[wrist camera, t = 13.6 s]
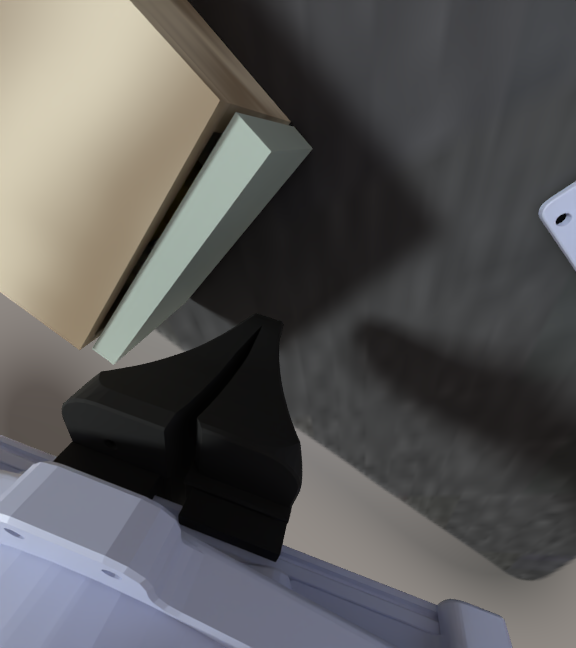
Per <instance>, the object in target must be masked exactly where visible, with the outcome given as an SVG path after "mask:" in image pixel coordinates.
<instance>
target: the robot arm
mask: <svg viewBox="0 0 576 648" xmlns="http://www.w3.org/2000/svg"><path fill="white" fill-rule="evenodd" d="M564 213H566V218H565V220H564V221H562V222H561V223H559V224H556V222H555V221H556V219H557V218H558V217H559V216H560V215H562V214H564ZM538 214H539V217H540V219H541V221H542V222H543V224H544V225H545V227H546V228H547V230H548V231H549V233H550V234H551V235H552V237H553V238H554V240H555V241H556V243H557V244H558V246H559V247H560V249H561V250H562V252H563V253H564V255H565V256H566V258H567V259H568V261H569V262H570V264H571V265H572V267H573V268H574V270H575V271H576V181H575V182H574V183H572V184H571V185H569V186H568V187H566V188H565V189H563V190H562V191H560V192H559V193H557V194H556V195H554V196H553V197H551V198H550V199H548V200H547V201H546V202H544V203H543V204H542V206H541V207H540V209H539V213H538ZM283 325H284V324H283V323H282V322H281V321H278V320H275V319H272V318H269V317H266V316H262V315H259V314H254V315H252V316H251V317H249V318H248V319H246V320H245V321H243V322H242V323H240V324H239V325H237V326H236V327H234V328H232V329H231V330H229V331H227V332H226V333H224V334H222V335H220V336H218V337H217V338H215V339H213V340H211V341H209V342H207V343H205V344H203V345H201V346H198V347H196V348H194V349H191V350H189V351H186V352H183V353H180V354H177V355H174V356H171V357H168V358H165V359H162V360H158V361H154V362H150V363H146V364H142V365H137V366H132V367H126V368H121V369H115V370H109V371H102V372H100V373H99V374H98V375H96V376H95V377H94V378H92V379H91V380H90V381H89V382H87V383H86V384H85V385H84V386H83V387H82V388H81V389H79V390H78V391H77V392H76V393H75V394H74V395H73V396H71V397H70V398H69V399H68V400H67V401H66V402H65V403H63V406H62V415H63V419H64V422H65V424H66V426H67V429H68V431H69V433H70V436H71V438H72V441H73V442H72V443H71V444H70V445H69V446H68V447H67V448H66V449H65V450H64V451H63V452H62V453H61V454H60V455H59V456H58V457H56V456H53V455H51V454H48V453H46V452H43V451H41V450H38V449H35V448H33V447H30V446H28V445H25V444H23V443H20V442H17V441H15V440H12V439H10V438H7V437H5V436H2V435H0V648H512V644H511V641H510V637H509V634H508V630H507V627H506V623H505V620H504V619H503V618H502V617H501V616H500V615H497V614H495V613H492V612H490V611H487V610H484V609H481V608H479V607H477V606H474V605H471V604H469V603H466V602H464V601H460V600H455V599H447V600H444V601H442V602H440V603H439V604H438V605H435V604H433V603H430V602H428V601H425V600H422V599H420V598H417V597H415V596H412V595H410V594H407V593H405V592H402V591H400V590H397V589H394V588H391V587H389V586H387V585H384V584H381V583H379V582H376V581H374V580H371V579H369V578H366V577H364V576H361V575H358V574H356V573H353V572H351V571H348V570H346V569H343V568H341V567H338V566H335V565H333V564H330V563H328V562H325V561H323V560H320V559H317V558H315V557H312V556H309V555H307V554H305V553H302V552H300V551H297V550H294V549H292V548H289V547H287V546H284V545H282V544H283V539H284V535H285V530H286V525H287V523H288V521H289V517H290V513H291V508H292V505H293V503H294V501H295V499H296V497H297V496H298V494H299V492H300V488H301V484H302V456H301V445H300V441H299V439H298V436H297V434H296V431H295V429H294V426H293V423H292V421H291V418H290V415H289V411H288V408H287V404H286V400H285V397H284V392H283V387H282V382H281V375H280V365H279V341H280V337H281V333H282V329H283Z"/></svg>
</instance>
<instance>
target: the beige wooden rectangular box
mask: <svg viewBox="0 0 576 648" xmlns="http://www.w3.org/2000/svg"><path fill="white" fill-rule="evenodd" d="M236 112H238V113H242V114H246V115H249V116H253V117H257V118H261V119H265V120H269V121H273V122H277V123H281V124H285V125H289V124H290V123H291V121H290V120H289V119H288V118H287V117H286V115H285V114H284V113H283V112H282V111H281V110H280V108H279V107H278V106H277V105H276V104H275V103H274V101H273V100H272V99H271V98H270V97H269V96H268V94H267V93H266V92H265V91H264V90H263V89H262V87H261V86H260V85H259V84H258V83H257V81H256V80H255V79H254V78H253V77H252V76H251V74H250V73H249V72H248V71H247V70H246V69H245V67H244V66H243V65H242V64H241V63H240V62H239V60H238V59H237V58H236V57H235V56H234V55H233V53H232V52H231V51H230V50H229V49H228V48H227V46H226V45H225V44H224V43H223V42H222V40H221V39H220V38H219V37H218V36H217V35H216V33H215V32H214V31H213V30H212V29H211V28H210V26H209V25H208V24H207V23H206V22H205V21H204V19H203V18H202V17H201V16H200V15H199V14H198V12H197V11H196V10H195V9H194V8H193V7H192V5H191V4H190V3H189V2H188V1H187V0H0V292H1V293H2V294H4V295H5V296H6V297H8V298H9V299H11V300H12V301H13V302H14V303H16V304H17V305H19V306H20V307H21V308H23V309H24V310H25V311H27V312H28V313H30V314H31V315H32V316H34V317H35V318H36V319H38V320H39V321H41V322H42V323H43V324H45V325H46V326H47V327H49V328H50V329H51V330H53V331H54V332H56V333H57V334H58V335H60V336H61V337H62V338H64V339H65V340H66V341H68V342H69V343H71V344H72V345H74V346H75V347H76V348H77V349H79V350H81V349H82V348H83V347H85V346H86V345H88V344H89V343H90V342H92V341H93V340H95V339H96V338H97V337H99V336H100V335H101V333H102V332H103V330H104V328H105V327H106V325H107V323H108V322H109V320H110V318H111V317H112V315H113V313H114V312H115V310H116V309H117V307H118V305H119V304H120V302H121V300H122V299H123V297H124V295H125V294H126V292H127V290H128V289H129V287H130V285H131V284H132V282H133V281H134V279H135V277H136V276H137V274H136V273H135V272H134V271H133V269H134V267H135V265H136V264H137V262H138V260H139V259H140V257H141V255H142V253H143V252H144V250H145V248H146V247H147V245H148V243H149V242H150V240H151V238H152V236H153V235H154V233H155V231H156V230H157V228H158V226H159V224H160V223H161V221H162V219H163V218H164V216H165V214H166V213H167V211H168V209H169V207H170V206H171V204H172V202H173V201H174V199H175V197H176V195H177V194H178V192H179V190H180V189H181V187H182V185H183V184H184V182H185V180H186V178H187V177H188V175H189V173H190V172H191V170H192V168H193V166H194V165H195V163H196V161H197V160H198V158H199V156H200V155H201V153H202V151H203V149H204V148H205V146H206V144H207V143H208V141H209V139H210V137H211V136H212V134H213V132H217V133H223V132H224V131H225V129H226V127H227V126H228V124H229V122H230V121H231V119H232V118H233V116H234V114H235V113H236Z"/></svg>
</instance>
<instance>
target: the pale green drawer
mask: <svg viewBox="0 0 576 648" xmlns="http://www.w3.org/2000/svg"><path fill="white" fill-rule="evenodd" d="M312 149H313V148H312V147H311V146H310V145H309V144H308V143H307V141H306V140H305V139H304V138H303V137H302V135H301V134H300V133H299V132H298V131H297V130H296V128H295V127H293V126H289V125H285V124H281V123H277V122H273V121H269V120H265V119H261V118H257V117H253V116H249V115H246V114H242V113H238V112H236V113H235V114H234V116H233V118H232V119H231V121H230V122H229V124H228V126H227V127H226V129H225V131H224V132H223V133H217V132H213V134H212V136H211V137H210V139H209V141H208V143H207V144H206V146H205V148H204V149H203V151H202V153H201V155H200V156H199V158H198V161H199V162H200V163H201V164H202V165H203V167H202V169H201V170H200V172H199V173H198V175H197V177H196V178H195V180H194V182H193V183H192V185H191V187H190V188H189V190H188V192H187V193H186V195H185V197H184V198H183V200H182V201H181V203H180V205H179V206H178V208H177V210H176V211H175V213H174V215H173V216H172V218H171V220H170V221H169V223H168V225H167V226H166V228H165V229H164V231H163V233H162V234H161V236H160V238H158V239H155V240H153V241H151V242H149V243H148V245H147V247H146V248H145V250H144V252H143V253H142V255H141V257H140V259H139V260H138V262H137V264H136V265H135V267H134V269H133V271H134V272H135V273H136V274H137V276H136V277H135V279H134V281H133V282H132V284H131V285H130V287H129V289H128V290H127V292H126V294H125V295H124V297H123V299H122V300H121V302H120V304H119V305H118V307H117V309H116V310H115V312H114V313H113V315H112V317H111V318H110V320H109V322H108V323H107V325H106V327H105V328H104V330H103V332H102V333H101V335H100V336H99V338H98V340H97V342H96V343H95V345H94V347H93V348H92V349H93V350H94V351H96V352H97V353H99V354H100V355H101V356H103V357H104V358H105V359H106V360H108V361H109V362H111V363H112V364H113V365H114V364H115V363H116V362H117V361H119V360H120V359H121V358H122V357H123V356H124V355H126V354H127V353H128V352H129V351H130V350H131V349H133V348H134V347H135V346H136V345H137V344H138V343H139V342H141V341H142V340H143V339H144V338H145V337H146V336H147V335H149V334H150V333H151V332H152V331H153V330H154V329H156V328H157V327H158V326H159V325H160V324H161V323H162V322H164V321H165V320H166V319H167V318H168V317H169V316H170V315H172V314H173V313H174V312H175V311H176V310H177V309H178V308H180V307H181V306H182V305H183V304H184V303H185V302H187V300H188V299H189V298H190V297H191V296H192V294H193V293H194V292H195V291H196V290H197V288H198V287H199V286H200V285H201V284H202V282H203V281H204V280H205V279H206V277H207V276H208V275H209V274H210V273H211V271H212V270H213V269H214V268H215V267H216V265H217V264H218V263H219V262H220V260H221V259H222V258H223V257H224V256H225V254H226V253H227V252H228V251H229V250H230V248H231V247H232V246H233V245H234V244H235V242H236V241H237V240H238V239H239V237H240V236H241V235H242V234H243V233H244V231H245V230H246V229H247V228H248V227H249V225H250V224H251V223H252V222H253V221H254V219H255V218H256V217H257V216H258V214H259V213H260V212H261V211H262V210H263V208H264V207H265V206H266V205H267V204H268V202H269V201H270V200H271V199H272V197H273V196H274V195H275V194H276V193H277V191H278V190H279V189H280V188H281V187H282V185H283V184H284V183H285V182H286V181H287V179H288V178H289V177H290V176H291V174H292V173H293V172H294V171H295V170H296V168H297V167H298V166H299V165H300V164H301V162H302V161H303V160H304V159H305V158H306V156H307V155H308V154H309V153H310V151H311V150H312Z"/></svg>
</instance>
